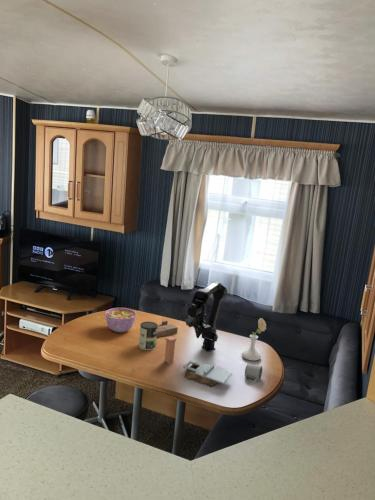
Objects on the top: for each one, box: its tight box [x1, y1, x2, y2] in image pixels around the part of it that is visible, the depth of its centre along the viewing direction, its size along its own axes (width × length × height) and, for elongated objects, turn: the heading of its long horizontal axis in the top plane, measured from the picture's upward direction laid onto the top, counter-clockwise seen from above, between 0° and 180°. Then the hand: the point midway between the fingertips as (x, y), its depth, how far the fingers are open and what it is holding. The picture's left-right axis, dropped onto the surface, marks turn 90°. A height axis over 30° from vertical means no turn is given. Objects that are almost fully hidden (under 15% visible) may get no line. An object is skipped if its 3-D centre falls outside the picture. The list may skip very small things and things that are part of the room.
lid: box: [183, 360, 233, 385], centre depth 208 cm, size 24×12×2 cm, turn 62°
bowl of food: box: [104, 307, 137, 333], centre depth 257 cm, size 20×20×12 cm
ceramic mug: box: [244, 363, 263, 384], centre depth 212 cm, size 11×8×8 cm
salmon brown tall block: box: [164, 335, 177, 364], centre depth 222 cm, size 4×4×14 cm
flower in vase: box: [241, 317, 267, 361], centre depth 235 cm, size 13×11×25 cm
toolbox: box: [183, 361, 217, 388], centre depth 210 cm, size 16×12×4 cm
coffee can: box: [138, 321, 159, 351], centre depth 237 cm, size 10×10×14 cm
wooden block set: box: [157, 318, 178, 338], centre depth 263 cm, size 17×6×18 cm
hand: (197, 337), depth 227 cm, fingers closed
